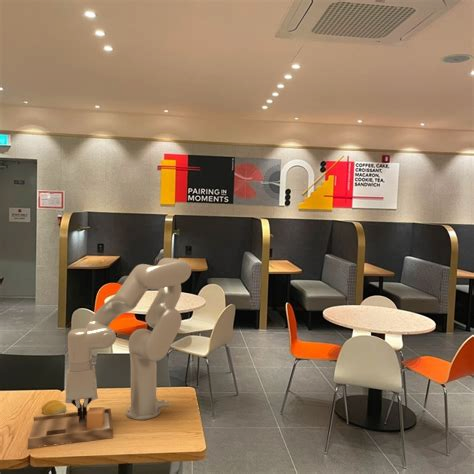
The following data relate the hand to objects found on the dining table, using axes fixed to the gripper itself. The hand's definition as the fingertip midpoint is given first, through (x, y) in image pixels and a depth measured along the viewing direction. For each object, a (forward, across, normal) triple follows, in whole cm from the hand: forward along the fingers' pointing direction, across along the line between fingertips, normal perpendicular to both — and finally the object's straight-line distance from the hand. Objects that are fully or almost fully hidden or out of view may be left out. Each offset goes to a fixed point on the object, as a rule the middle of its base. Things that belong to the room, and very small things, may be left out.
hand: (82, 417), depth 161 cm
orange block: (+3, -4, +1) cm, 5 cm away
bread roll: (+5, +11, -18) cm, 22 cm away
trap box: (+4, +3, 0) cm, 6 cm away
